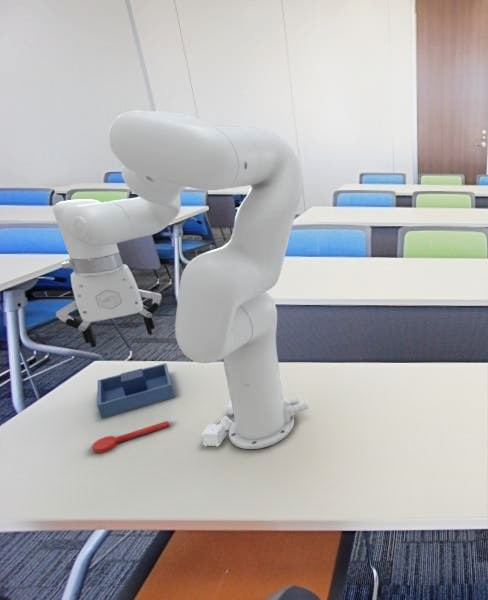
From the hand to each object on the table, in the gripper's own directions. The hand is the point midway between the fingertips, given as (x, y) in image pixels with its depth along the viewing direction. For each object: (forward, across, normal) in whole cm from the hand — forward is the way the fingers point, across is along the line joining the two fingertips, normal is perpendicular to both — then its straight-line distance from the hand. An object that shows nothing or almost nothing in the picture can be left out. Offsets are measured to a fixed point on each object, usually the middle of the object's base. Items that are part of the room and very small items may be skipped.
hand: (123, 338), depth 86 cm
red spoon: (+16, -3, -14) cm, 22 cm away
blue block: (+15, -1, +2) cm, 15 cm away
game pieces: (+16, +13, -22) cm, 30 cm away
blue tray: (+15, -1, +2) cm, 15 cm away
